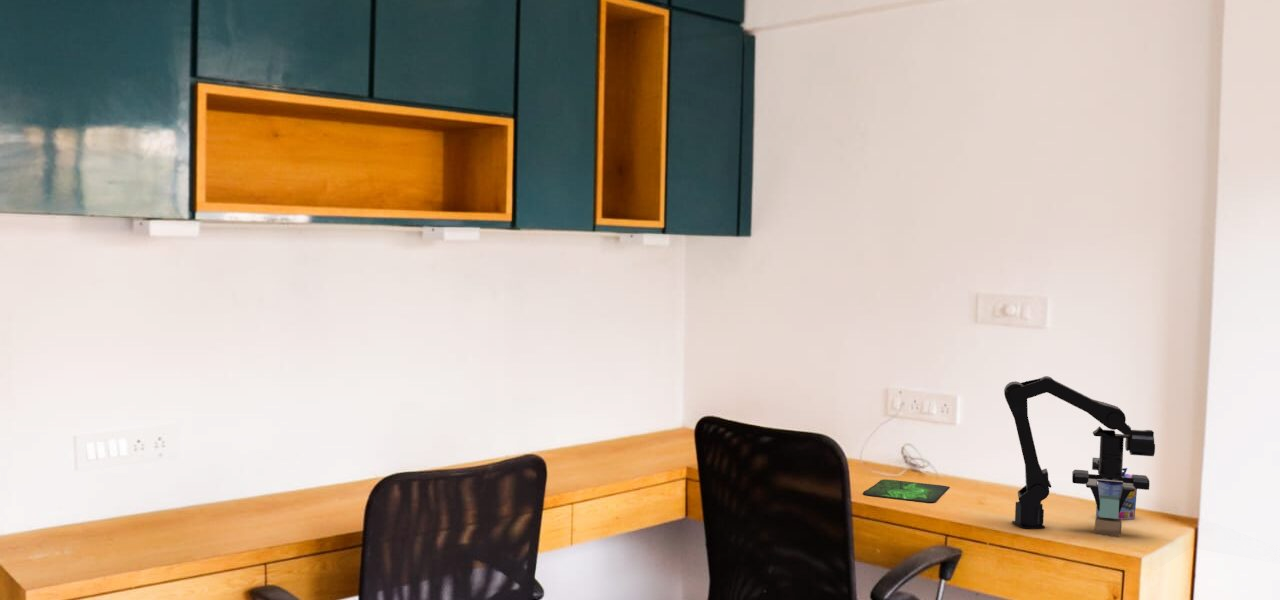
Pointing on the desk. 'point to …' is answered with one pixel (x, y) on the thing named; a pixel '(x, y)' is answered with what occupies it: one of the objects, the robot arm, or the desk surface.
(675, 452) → the desk surface
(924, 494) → the mouse mat
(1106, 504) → the teal block
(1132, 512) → the ink cartridge box
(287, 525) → the desk surface
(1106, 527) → the walnut block
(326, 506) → the desk surface
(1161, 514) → the desk surface
